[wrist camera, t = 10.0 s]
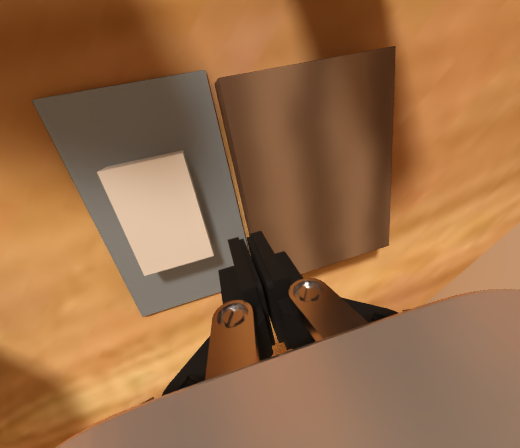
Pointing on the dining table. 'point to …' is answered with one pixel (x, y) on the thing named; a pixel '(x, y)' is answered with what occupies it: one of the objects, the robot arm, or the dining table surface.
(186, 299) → the mat
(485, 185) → the dining table surface
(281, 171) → the plate
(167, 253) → the tile
